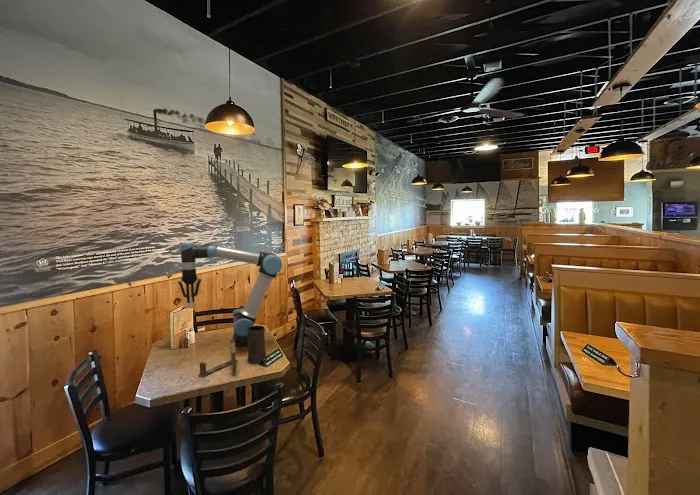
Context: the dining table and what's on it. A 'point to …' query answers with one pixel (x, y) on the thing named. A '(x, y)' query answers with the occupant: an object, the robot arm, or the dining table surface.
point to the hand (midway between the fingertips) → (191, 307)
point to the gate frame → (205, 373)
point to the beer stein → (256, 344)
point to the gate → (233, 357)
